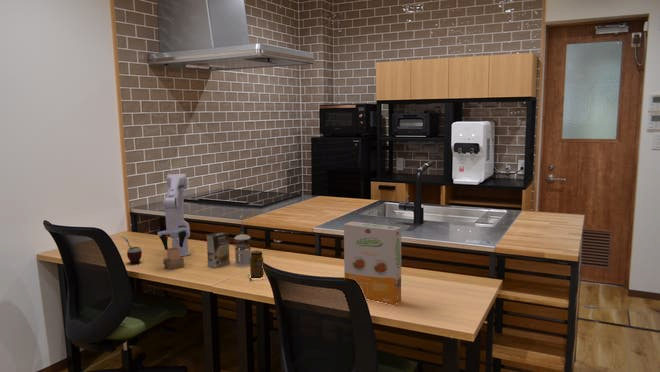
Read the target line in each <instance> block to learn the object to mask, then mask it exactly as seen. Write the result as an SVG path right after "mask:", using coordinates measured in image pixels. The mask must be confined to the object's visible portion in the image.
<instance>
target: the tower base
mask: <svg viewBox="0 0 660 372" xmlns="http://www.w3.org/2000/svg"><path fill="white" fill-rule="evenodd" d="M184 263H185V262H184ZM184 263H182V264H179V265H175V266H168V265H165V264H163V265H164V268H165V269H167V270H169V271H175V270H178V269H183V268H185V264H184Z"/></svg>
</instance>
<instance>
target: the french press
mask: <svg viewBox="0 0 660 372" xmlns="http://www.w3.org/2000/svg"><path fill="white" fill-rule="evenodd" d="M243 218H244V216H243V215H239V219H241V221H240V222H241V225H243ZM233 239H234V242H236V243H237V244H235V247H234V251H235V252H234V253H235V255H234V256H235V262H234V263H233V266H234V267H237V268H246V267H250V258H251V252H252V249H251V248H252V247H250V244H249V243H243V241H247V240H248V241H249V240H251V236H250V235H248V234H244V233H240V234H238V235H236V236H234V238H233ZM240 242H242V243H240Z"/></svg>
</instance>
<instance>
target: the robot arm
mask: <svg viewBox="0 0 660 372" xmlns="http://www.w3.org/2000/svg"><path fill="white" fill-rule="evenodd" d="M166 184H167V186H168V189H167V191H166V196H165V197H164V198H163V209H164V213H165V226H166V227H165V228H166V230H165V229H164V230H162V231H157V237H158V238H159V239H160V240H161V242H162V246H163V248H164V250H165V251H167V250H168V249H169V247H168V246H169V245H168V238H169V237H170V238H171V239H172V240H171V248H174V247H176V248H179V249H180V257H181V258H182V257H185V256H190V255H192V253H191V252H189V245H188V244H189V242H188V239H189V237H191V236H190V235H191V229H190V224H189V222H187V221H186V220H185V212H184V190H187V189H188V177H187V173H175V174H174V173H173V174H172V173H170V174H169V173H168V174H167V175H166ZM168 236H169V237H168Z"/></svg>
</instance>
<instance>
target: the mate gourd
mask: <svg viewBox="0 0 660 372" xmlns="http://www.w3.org/2000/svg"><path fill="white" fill-rule="evenodd" d="M121 238H122V239H124V240H125V242H127V244H128V247H129V248H128V249H127V252H126V253H127V254H126V256H127V259H128V260H129V263H130V264H129V265H131V266H133V265H135V264H137V265H140V264H141V259H142V255H143V252H142V249H141V248H140V246H131V245H130V241H129V240H128V238H126V237H125V236H123V235H122V236H121Z"/></svg>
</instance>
